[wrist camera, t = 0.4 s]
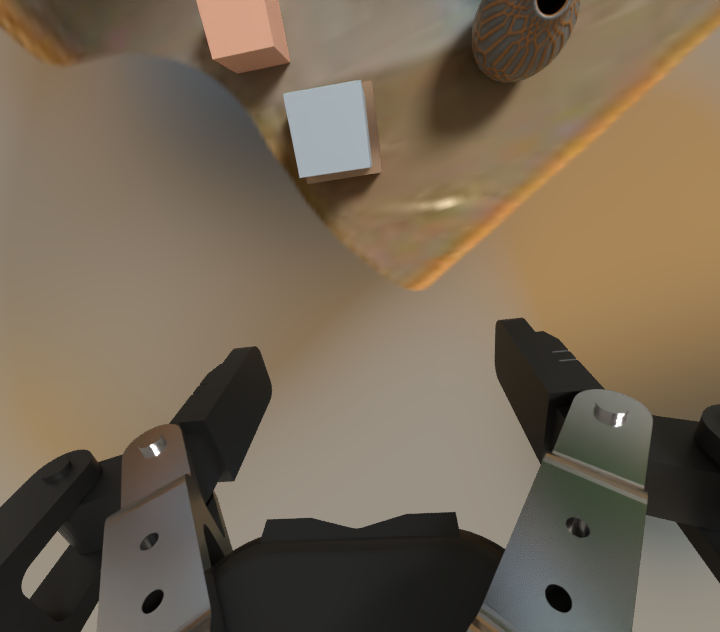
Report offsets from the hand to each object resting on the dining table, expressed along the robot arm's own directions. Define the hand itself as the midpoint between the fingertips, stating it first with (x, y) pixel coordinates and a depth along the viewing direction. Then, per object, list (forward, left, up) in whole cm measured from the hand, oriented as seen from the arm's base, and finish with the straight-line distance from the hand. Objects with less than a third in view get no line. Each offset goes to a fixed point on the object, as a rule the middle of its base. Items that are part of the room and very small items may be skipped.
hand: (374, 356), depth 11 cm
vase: (-13, +12, -27) cm, 32 cm away
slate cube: (-8, -3, -23) cm, 25 cm away
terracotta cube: (-17, -9, -27) cm, 33 cm away
